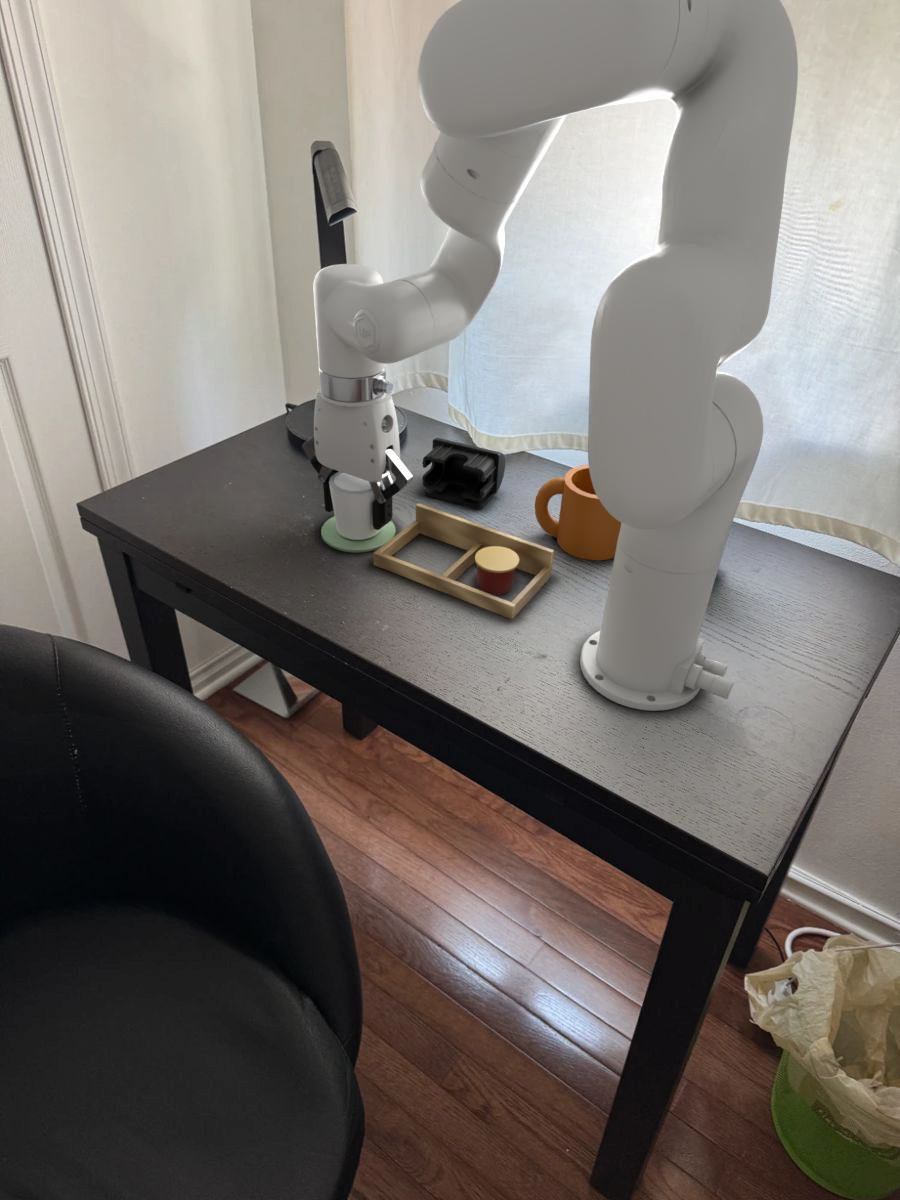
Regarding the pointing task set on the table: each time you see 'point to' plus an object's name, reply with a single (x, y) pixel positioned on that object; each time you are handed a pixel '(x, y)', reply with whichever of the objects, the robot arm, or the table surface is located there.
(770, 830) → the table surface
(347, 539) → the coaster
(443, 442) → the end cap
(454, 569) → the pod caddy
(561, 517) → the mug
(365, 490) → the shot glass
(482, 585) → the coffee pod
